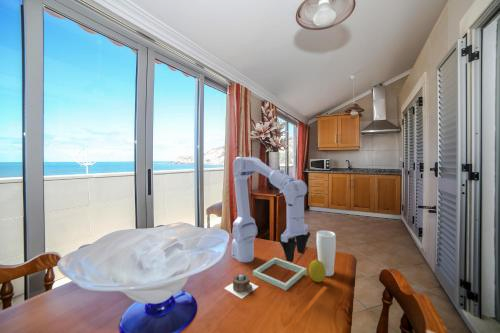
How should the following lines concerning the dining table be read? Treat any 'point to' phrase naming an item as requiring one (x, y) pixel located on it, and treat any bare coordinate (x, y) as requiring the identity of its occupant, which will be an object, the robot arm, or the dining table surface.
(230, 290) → the white base with peg
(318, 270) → the lemon
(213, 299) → the dining table surface
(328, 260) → the drinking glass
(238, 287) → the ring
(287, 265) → the tray
